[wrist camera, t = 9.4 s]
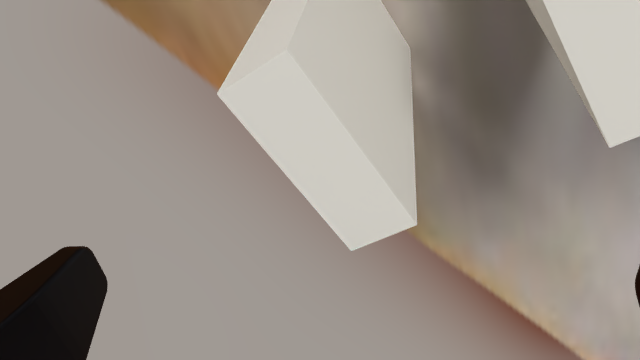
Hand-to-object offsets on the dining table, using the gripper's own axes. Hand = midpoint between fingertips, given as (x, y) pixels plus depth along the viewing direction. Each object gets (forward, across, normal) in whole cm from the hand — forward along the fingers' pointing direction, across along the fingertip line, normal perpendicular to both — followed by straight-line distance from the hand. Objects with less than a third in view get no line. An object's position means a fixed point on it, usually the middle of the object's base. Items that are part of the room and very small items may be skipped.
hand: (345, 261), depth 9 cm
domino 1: (+13, +1, 0) cm, 13 cm away
